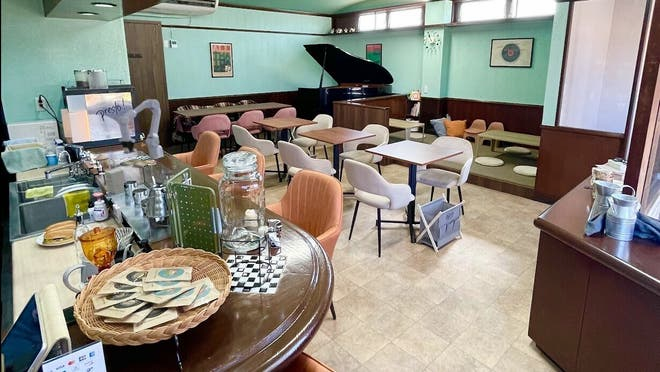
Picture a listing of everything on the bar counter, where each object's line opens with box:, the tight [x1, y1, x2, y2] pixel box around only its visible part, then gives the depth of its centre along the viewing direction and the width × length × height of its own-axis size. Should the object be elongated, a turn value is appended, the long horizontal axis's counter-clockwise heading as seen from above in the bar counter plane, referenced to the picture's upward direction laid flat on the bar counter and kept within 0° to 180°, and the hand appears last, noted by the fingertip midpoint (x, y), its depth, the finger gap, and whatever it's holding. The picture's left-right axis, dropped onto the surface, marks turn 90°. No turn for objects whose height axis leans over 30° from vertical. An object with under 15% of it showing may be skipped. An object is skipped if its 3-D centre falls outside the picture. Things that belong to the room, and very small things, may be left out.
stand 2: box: [132, 159, 158, 168], centre depth 290 cm, size 12×10×2 cm
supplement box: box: [104, 168, 127, 195], centre depth 230 cm, size 7×7×13 cm
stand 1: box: [119, 158, 144, 167], centre depth 296 cm, size 12×10×2 cm
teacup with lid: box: [93, 153, 116, 170], centre depth 279 cm, size 12×9×12 cm
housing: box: [121, 145, 136, 155], centre depth 293 cm, size 7×4×5 cm, turn 154°
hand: (129, 151), depth 293 cm, fingers closed on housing, 4 cm apart
